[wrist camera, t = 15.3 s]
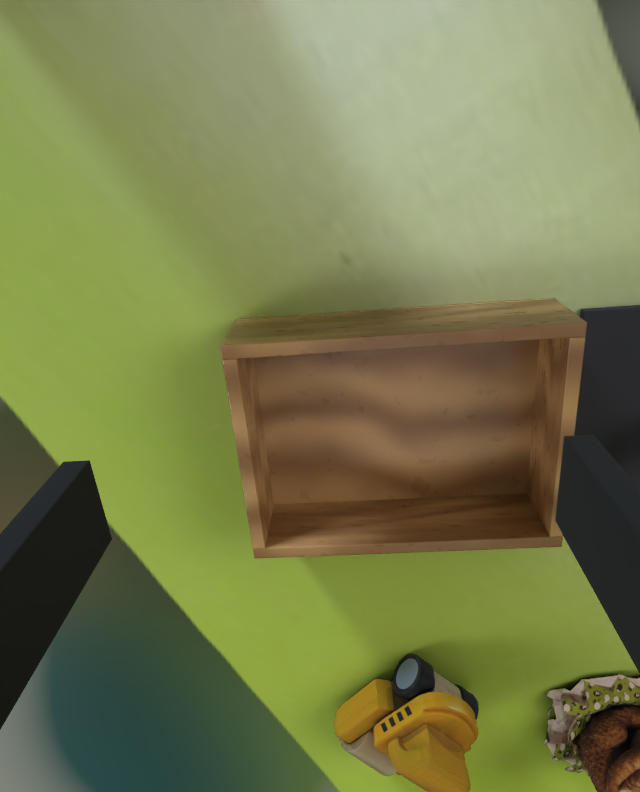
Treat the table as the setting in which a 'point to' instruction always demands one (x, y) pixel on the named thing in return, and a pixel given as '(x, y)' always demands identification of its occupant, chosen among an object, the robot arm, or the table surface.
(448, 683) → the toy roller
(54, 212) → the table surface
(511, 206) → the table surface
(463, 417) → the crate
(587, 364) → the mat
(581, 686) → the bear figurine
